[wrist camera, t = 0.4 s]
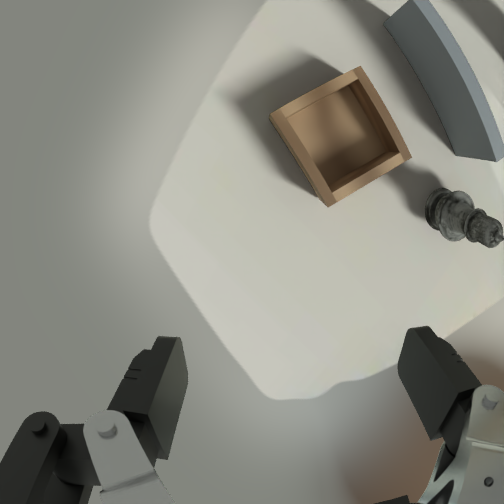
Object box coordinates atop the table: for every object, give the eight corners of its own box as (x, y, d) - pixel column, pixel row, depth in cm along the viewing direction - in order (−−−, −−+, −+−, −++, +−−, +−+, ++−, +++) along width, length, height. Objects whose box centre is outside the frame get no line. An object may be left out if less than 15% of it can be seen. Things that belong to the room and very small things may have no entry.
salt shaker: (414, 210, 31) (474, 242, 20) (443, 176, 29) (508, 194, 18) (439, 241, 32) (496, 281, 21) (466, 209, 31) (527, 237, 19)
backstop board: (394, 19, 23) (424, -6, 16) (465, 149, 28) (506, 154, 20) (382, 23, 24) (411, -3, 16) (455, 155, 28) (496, 162, 21)
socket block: (347, 75, 26) (360, 65, 22) (393, 155, 29) (411, 157, 25) (268, 118, 28) (269, 113, 24) (319, 199, 31) (328, 207, 27)
